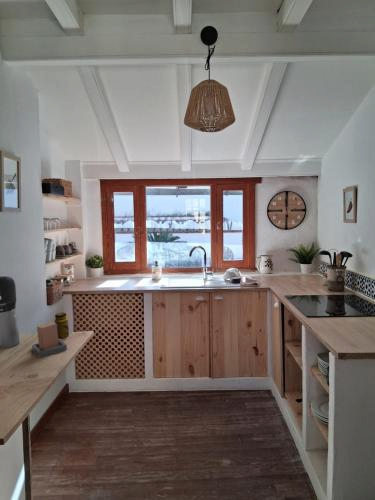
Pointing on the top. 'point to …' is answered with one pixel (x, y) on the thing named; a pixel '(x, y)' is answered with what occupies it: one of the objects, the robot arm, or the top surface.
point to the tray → (40, 353)
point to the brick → (47, 336)
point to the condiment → (62, 325)
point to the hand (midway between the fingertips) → (9, 302)
